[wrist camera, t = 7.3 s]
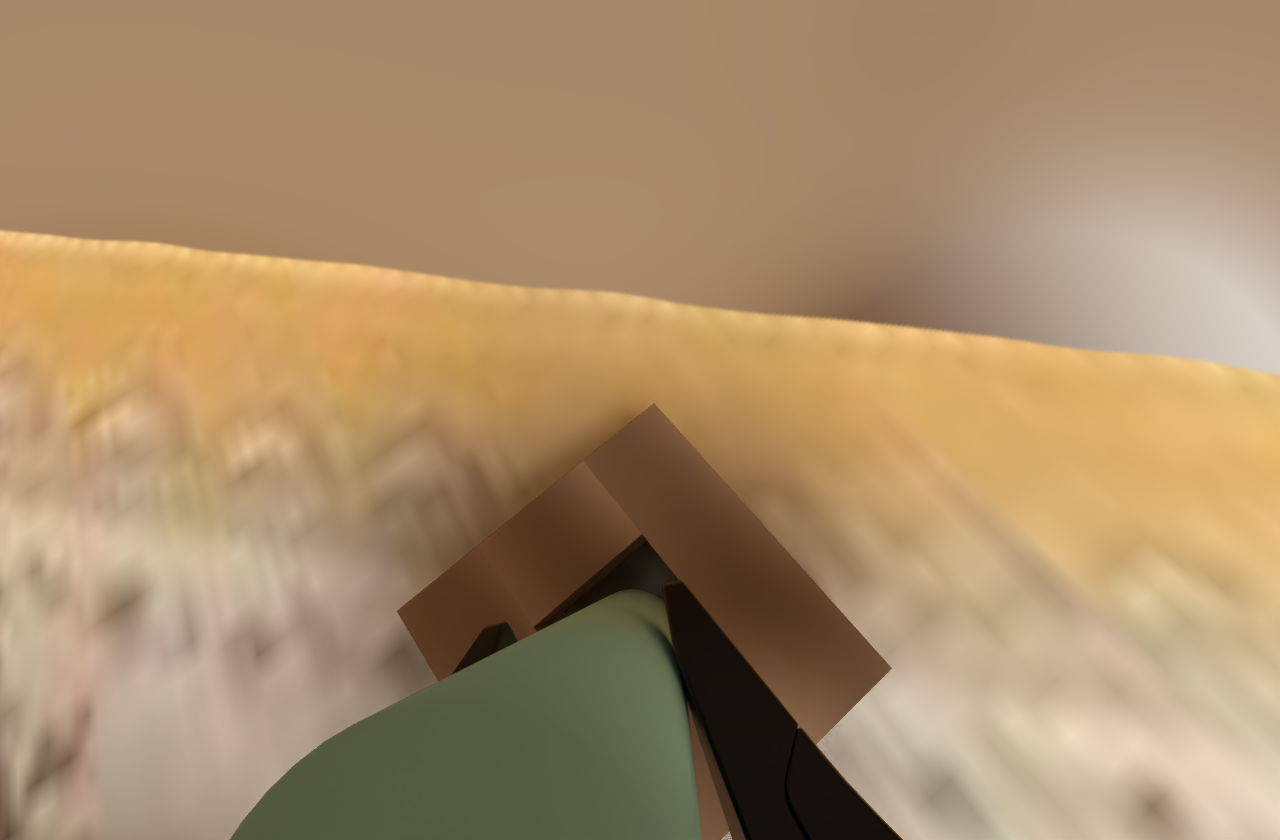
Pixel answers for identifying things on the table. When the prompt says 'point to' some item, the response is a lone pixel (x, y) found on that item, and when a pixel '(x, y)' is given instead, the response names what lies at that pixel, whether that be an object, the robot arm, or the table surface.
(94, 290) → the table surface
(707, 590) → the hole block
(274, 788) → the peg
